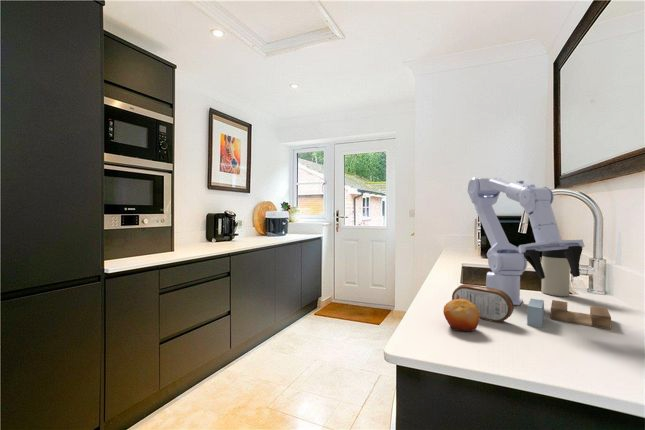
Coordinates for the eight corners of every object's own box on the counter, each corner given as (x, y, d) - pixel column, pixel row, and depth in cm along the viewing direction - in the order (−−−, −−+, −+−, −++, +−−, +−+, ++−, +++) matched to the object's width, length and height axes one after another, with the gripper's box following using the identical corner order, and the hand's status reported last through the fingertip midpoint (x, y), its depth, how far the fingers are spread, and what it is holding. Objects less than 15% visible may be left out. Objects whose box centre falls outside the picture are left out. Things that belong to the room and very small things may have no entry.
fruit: (475, 317, 82) (478, 294, 78) (479, 343, 75) (482, 319, 71) (442, 313, 84) (443, 291, 80) (443, 338, 78) (444, 315, 74)
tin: (513, 323, 82) (514, 290, 82) (510, 326, 79) (511, 292, 79) (454, 310, 92) (454, 281, 92) (450, 312, 90) (450, 283, 90)
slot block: (550, 318, 85) (550, 307, 85) (552, 310, 93) (552, 299, 93) (610, 329, 78) (611, 317, 78) (606, 318, 86) (607, 307, 86)
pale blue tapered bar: (527, 325, 80) (527, 305, 80) (530, 316, 87) (530, 298, 87) (541, 328, 79) (541, 308, 78) (543, 318, 86) (544, 300, 86)
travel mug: (560, 297, 107) (561, 244, 106) (536, 292, 114) (537, 242, 114) (574, 295, 110) (575, 243, 110) (550, 290, 117) (551, 241, 117)
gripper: (518, 226, 85) (532, 276, 80) (582, 219, 81) (600, 272, 76) (512, 233, 91) (524, 281, 86) (570, 228, 87) (586, 277, 82)
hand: (559, 277), depth 82 cm, fingers open, 7 cm apart
